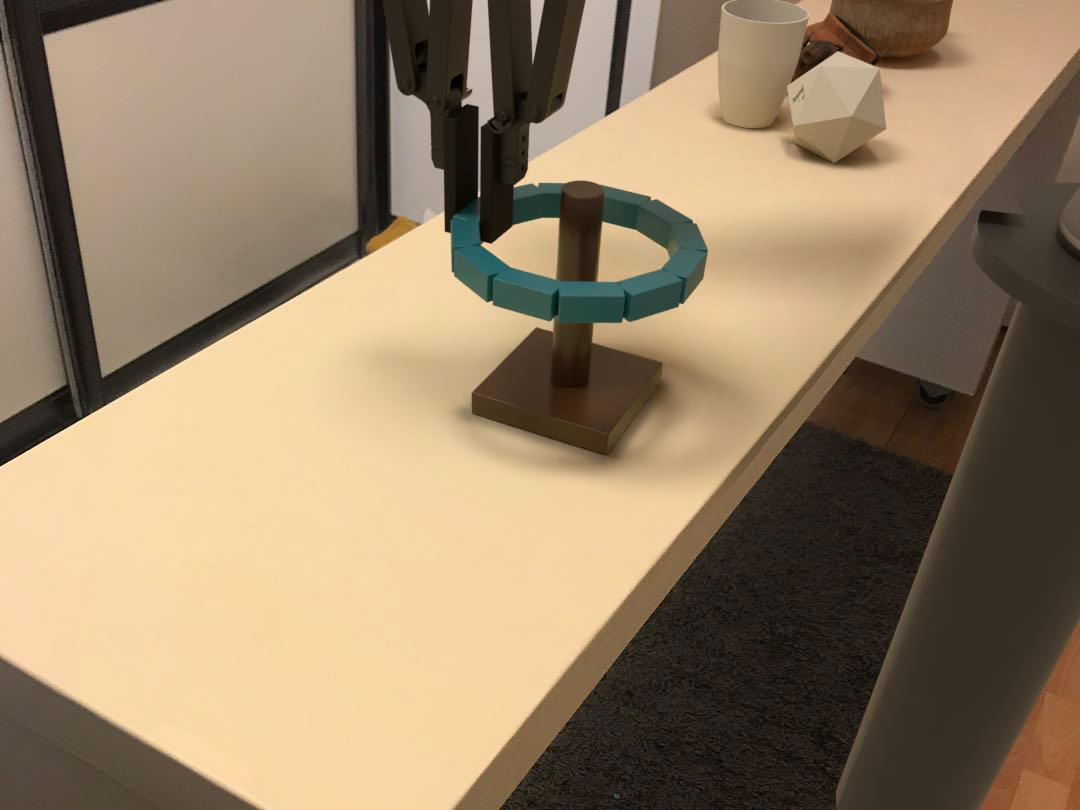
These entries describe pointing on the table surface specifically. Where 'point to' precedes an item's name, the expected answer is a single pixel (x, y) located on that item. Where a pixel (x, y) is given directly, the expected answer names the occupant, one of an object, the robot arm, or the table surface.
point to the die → (837, 106)
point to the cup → (757, 58)
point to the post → (570, 354)
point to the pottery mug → (833, 44)
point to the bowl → (897, 23)
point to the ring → (572, 296)
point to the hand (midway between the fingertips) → (478, 228)
